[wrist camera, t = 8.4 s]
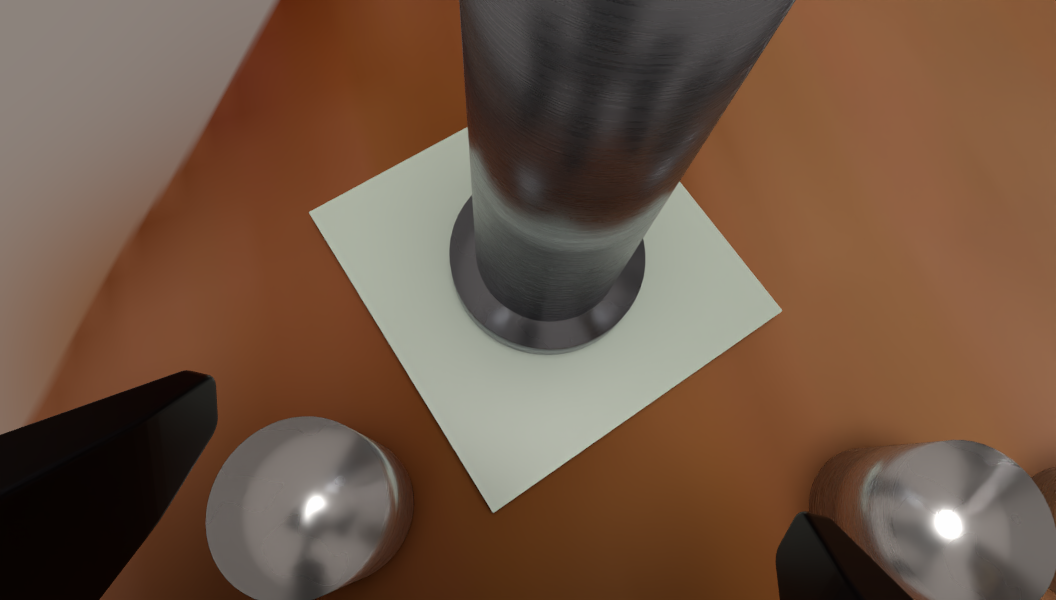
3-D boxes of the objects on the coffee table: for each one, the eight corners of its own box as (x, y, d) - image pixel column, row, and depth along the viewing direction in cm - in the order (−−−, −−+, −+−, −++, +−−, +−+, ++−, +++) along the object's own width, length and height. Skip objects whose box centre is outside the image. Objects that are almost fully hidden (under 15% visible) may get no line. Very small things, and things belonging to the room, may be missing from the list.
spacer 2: (871, 618, 17) (978, 657, 13) (781, 497, 18) (858, 501, 14) (965, 535, 18) (1092, 550, 14) (875, 423, 19) (971, 408, 15)
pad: (493, 512, 17) (493, 513, 17) (313, 220, 20) (308, 212, 19) (774, 315, 20) (782, 310, 19) (583, 74, 22) (585, 63, 21)
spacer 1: (353, 614, 16) (304, 645, 13) (244, 526, 17) (167, 530, 13) (441, 488, 17) (421, 481, 14) (336, 410, 18) (289, 383, 14)
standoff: (565, 394, 18) (822, 115, 4) (412, 277, 19) (186, -296, 5) (673, 249, 20) (1122, -311, 6) (527, 146, 20) (608, -571, 6)
